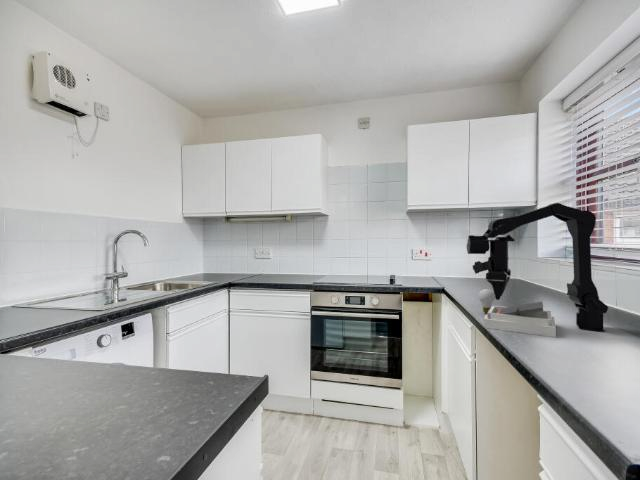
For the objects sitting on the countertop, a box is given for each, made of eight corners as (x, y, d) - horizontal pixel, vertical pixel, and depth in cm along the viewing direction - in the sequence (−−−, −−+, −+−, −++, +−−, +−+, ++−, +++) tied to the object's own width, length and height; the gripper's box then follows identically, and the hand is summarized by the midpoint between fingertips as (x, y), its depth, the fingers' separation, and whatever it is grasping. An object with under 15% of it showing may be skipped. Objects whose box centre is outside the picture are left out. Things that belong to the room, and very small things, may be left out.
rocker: (543, 304, 112) (541, 301, 112) (543, 311, 102) (541, 307, 103) (499, 312, 120) (498, 308, 120) (496, 318, 110) (494, 314, 110)
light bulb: (491, 312, 133) (490, 288, 133) (497, 315, 127) (497, 290, 127) (476, 311, 134) (476, 287, 134) (482, 315, 128) (481, 290, 128)
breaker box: (554, 325, 112) (553, 311, 112) (555, 337, 99) (555, 321, 99) (489, 317, 123) (489, 304, 123) (483, 327, 110) (483, 312, 110)
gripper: (478, 252, 127) (478, 291, 127) (469, 254, 111) (469, 299, 112) (510, 253, 120) (511, 294, 121) (506, 255, 105) (506, 303, 105)
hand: (499, 297), depth 115 cm, fingers open, 9 cm apart
